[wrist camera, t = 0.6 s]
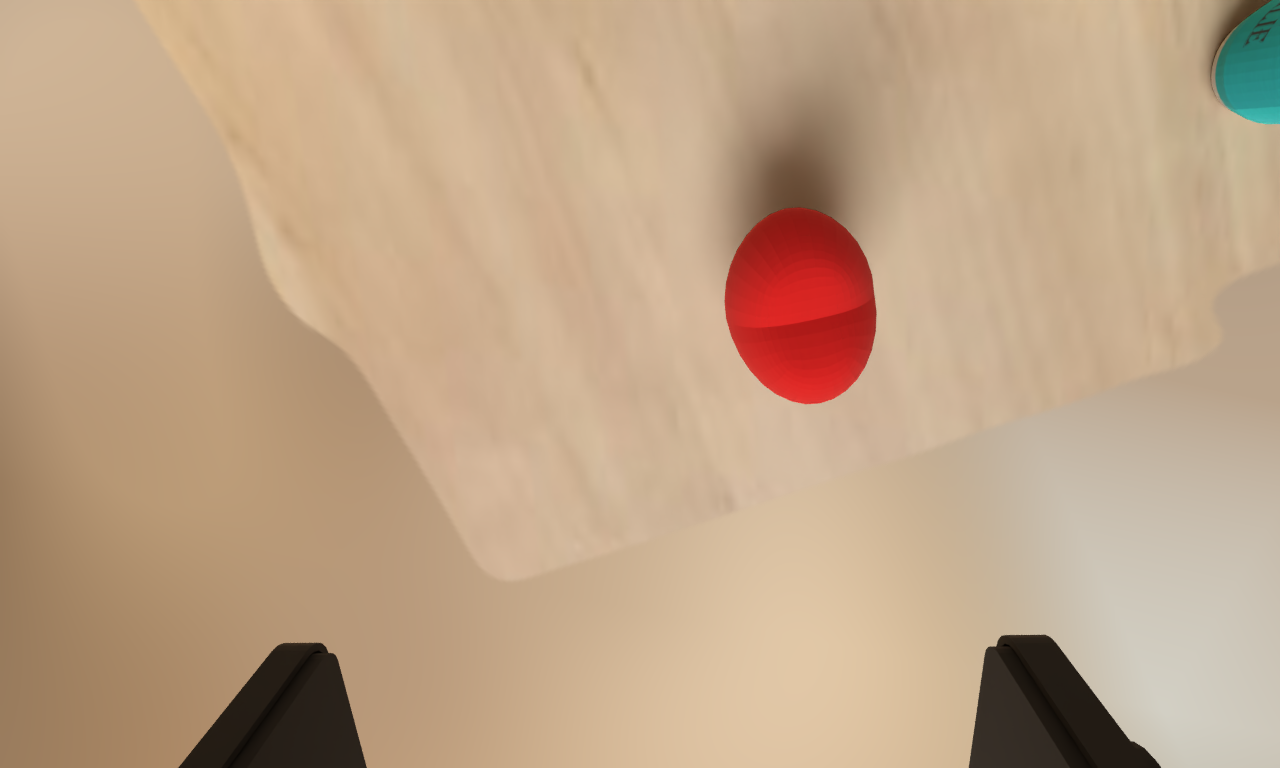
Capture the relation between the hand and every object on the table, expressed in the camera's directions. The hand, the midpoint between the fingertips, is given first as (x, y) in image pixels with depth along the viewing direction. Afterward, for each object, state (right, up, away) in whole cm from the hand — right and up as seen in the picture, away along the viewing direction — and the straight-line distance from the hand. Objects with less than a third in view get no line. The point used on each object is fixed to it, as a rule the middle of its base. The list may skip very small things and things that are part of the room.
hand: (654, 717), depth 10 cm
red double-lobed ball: (+8, +11, +28) cm, 31 cm away
